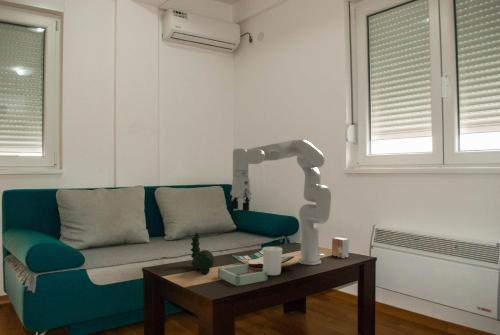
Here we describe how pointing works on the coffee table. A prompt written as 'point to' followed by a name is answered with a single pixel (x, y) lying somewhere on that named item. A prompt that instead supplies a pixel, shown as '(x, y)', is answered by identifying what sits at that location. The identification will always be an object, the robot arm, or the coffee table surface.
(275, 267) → the candle holder
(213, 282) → the coffee table surface
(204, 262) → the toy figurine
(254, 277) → the tray
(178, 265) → the coffee table surface
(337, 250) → the small box
